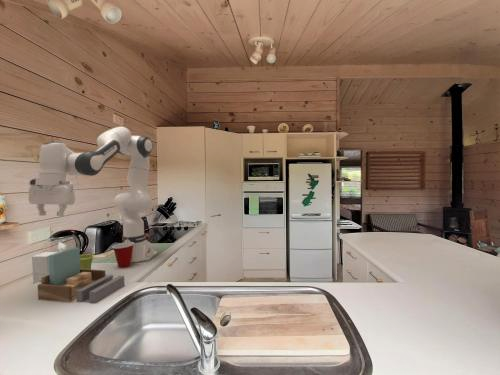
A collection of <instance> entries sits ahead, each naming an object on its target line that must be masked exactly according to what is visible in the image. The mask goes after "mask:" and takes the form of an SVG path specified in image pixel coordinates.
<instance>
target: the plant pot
mask: <svg viewBox="0 0 500 375" xmlns="http://www.w3.org/2000/svg"><path fill="white" fill-rule="evenodd" d="M94 257H95V255H94V254H90V253H86V254H79V259H80V269H90V270H92V263H93V258H94Z"/></svg>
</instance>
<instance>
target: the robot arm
mask: <svg viewBox="0 0 500 375" xmlns="http://www.w3.org/2000/svg"><path fill="white" fill-rule="evenodd" d="M96 138H97V139H96V144H97V147H98V149H96V150H95V151H85V152H75V151H73V150H71V149H70V148H69V147H67V146H66V145H67V144H66V143H64V142H63V141H47V142H44V143H42V144H41V147H40V149H39V150H40V151H39V157H38V164H39V167H40V168H39V170H38V176H36V177H34V178H32V179H30V180H28V185H29V188H28V202H29V204H31V205H36V208H37V211H38V216H43V217H44V216H46V215H47V210H45V208H44V207H45V206H46V205H58V208H59V210H58V211H56V216H57V217H64V215H65V211H66V209H67V206H69V205H71V206H72V205H74V204H75V202H76V201H75V200H76V195H75V194H76V193H75V189H74V185H73V183H72V182H71V181H67V175H69V176H90V177H93V176H96V175H98V174H99V173H100V172H101V171H102V169H103V168H104V166H105V165H106V164H107V163H108V162H109V161H110V160H111V159H112V158H114V157H115V156H116V155H117V154H120V155H123V156H124V155H127V156H128V155H129V156H130V162H129V166H128V171H127V174H126V175H127V177H126V183H127V184H128V185H129V188H130V190H129V191H130V192H122V193H119V194H117V195H115V196H114V199H113V205H114V208H116V209H117V211H118V213H119V215H120V218H121V221H122V229H123V230H122V232H123V233H122V243H125V242H134V245H133V250H132V258H131V263H137V262H143V261H149V260H151V259H152V258H153V257H154V256H156V255H157V254H158V251H157V250H154V245H153V243H152V242H150V241H148V240H147V238H148V237H149V233H145V228H144V227H145V222H144V220H143V219H142V218H141V216H140V214H139V213H142V212H147V211H149V210H150V209H151V208H152V206H153V204H154V203H153V198H152V196H151V195H150V194H149V190H148V178H149V172H150V163H151V162H150V154H151V153H152V151H153V147H154V144H153V141H152V140H151V138H150V137H148V136H145V135H133V134H132V132H131V131H130V130H129V128H127V127H126V126H117V127H113V128H110V129H108V130H105V132H104V131H103V133H101V134H100V135H99V136H98V137H96Z"/></svg>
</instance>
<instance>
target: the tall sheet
mask: <svg viewBox="0 0 500 375" xmlns="http://www.w3.org/2000/svg"><path fill="white" fill-rule="evenodd" d="M57 252H58V253H55V254H52V255H49V279H50V285H59V286H60V285H62V284H65V283H67V280H66V279H68V278H70V277H72V276H75V275H77V274H79V273H80V259H79V255H80V247H77V246H76V247H72V248H71V247H70V248H68V249H65V250H61V251H57Z"/></svg>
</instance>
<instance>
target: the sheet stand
mask: <svg viewBox="0 0 500 375" xmlns="http://www.w3.org/2000/svg"><path fill="white" fill-rule="evenodd" d="M123 287H125V276H124V275H117V277H114V276H113V275H112V274H107V275H105V277H103V278H101V279H99V280H97V281H95V282H93V283H91V284H89V285H87V286H85V287H83V288H81V289H79V290H77V291H76V299H75V300H76V303H77V302H78V303H88V304H96V303H98V302H100V301H101V300H103V299H105V298H106V297H108V296H109V295H112V294H113V293H115V292H116V291H118V290H119V289H122V288H123Z"/></svg>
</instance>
